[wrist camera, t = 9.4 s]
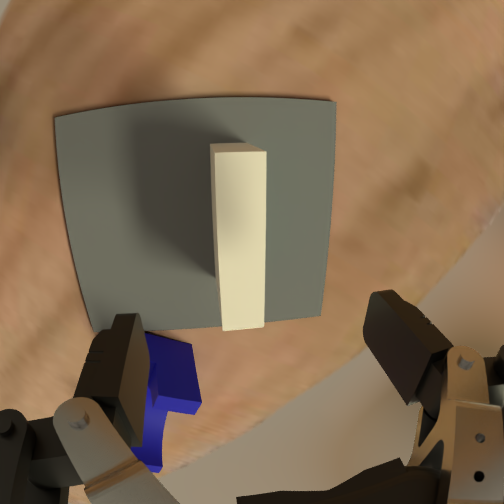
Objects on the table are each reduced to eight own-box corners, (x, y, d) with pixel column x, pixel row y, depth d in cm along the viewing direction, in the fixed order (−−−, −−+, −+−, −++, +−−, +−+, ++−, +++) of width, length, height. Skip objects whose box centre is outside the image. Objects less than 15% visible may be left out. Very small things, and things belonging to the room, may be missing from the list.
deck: (209, 143, 18) (214, 152, 13) (246, 142, 18) (267, 151, 13) (215, 277, 22) (222, 330, 16) (247, 275, 22) (264, 327, 17)
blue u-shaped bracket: (137, 330, 22) (135, 390, 17) (191, 344, 24) (201, 402, 19) (111, 415, 26) (110, 465, 21) (154, 423, 28) (158, 472, 23)
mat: (57, 117, 16) (54, 117, 16) (333, 102, 19) (336, 102, 18) (95, 329, 22) (94, 332, 22) (318, 312, 25) (320, 315, 25)
